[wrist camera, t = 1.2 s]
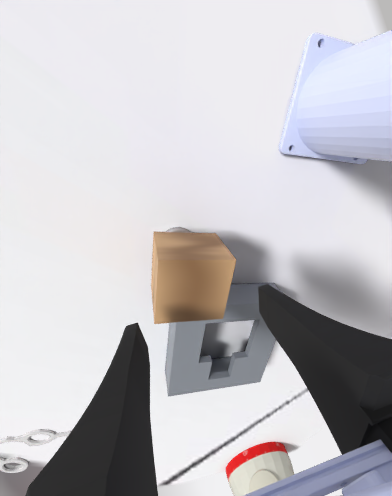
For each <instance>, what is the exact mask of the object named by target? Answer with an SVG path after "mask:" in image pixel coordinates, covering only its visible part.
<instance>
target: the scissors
mask: <svg viewBox="0 0 392 496" xmlns="http://www.w3.org/2000/svg"><path fill="white" fill-rule="evenodd" d="M70 433H71V431H67V432H61V433H54V432H53V431H50V430H45V429H38V430H34V431H30V432H28V433H26V434H24V435H22V436H18V437H8V436H7V437H5V438H2V439H0V443H5V442H24V443H26V444H28V445H29V446H37V445H42V444H46V443H49V442H51V441H52V440H53V439H54V438H57V437H62V436H69V434H70ZM36 434H46V435H49V436H50V437H49V438H48V439H46V440H41V441H36V440H30V439H29V437H30V436H32V435H36ZM12 462H14V463H20V464H21V465H17V466H13V465H7V464H6V463H12ZM28 464H29V461H26V460H24V459H21V458H18V457H17V458H15V457H12V456H8V455H7V456H6V455H3V454H0V470H1V471H3V472H7V473H16V472H21V471H24V470H25V469H26V468H27V467H28Z"/></svg>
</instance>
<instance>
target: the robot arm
mask: <svg viewBox="0 0 392 496" xmlns="http://www.w3.org/2000/svg"><path fill="white" fill-rule="evenodd" d="M318 41H320V43H321V44H320V48H319V47H318ZM290 146H292V149H291V150H290V151H289V147H290ZM279 151H280V152H281V153H283V154H290V155H297V156H305V157H312V158H319V159H327V160H334V161H342V162H349V163H357V164H364V163H366V162H367V160H368V159H372V160H381V161H390V162H392V30H390V31H387V32H385V33H382V34H380V35H377V36H375V37H373V38H370V39H368V40H365V41H363V42H360V43H358V44H352V43H349V42H346V41H343V40H339V39H336V38H333V37H330V36H326V35H323V34H320V33H314V34H312V35H310V36H309V37H308V39H307V41H306V45H305V48H304V52H303V56H302V60H301V64H300V68H299V72H298V76H297V80H296V83H295V87H294V91H293V95H292V99H291V103H290V107H289V111H288V115H287V118H286V122H285V126H284V130H283V134H282V138H281V142H280V146H279ZM354 157H355V158H354ZM353 158H354V159H353ZM258 295H259V312H260V314H261V316H262V318H263V320H264V322H265V324H266V325H267V327H268V329H269V330H270V331H271V333H272V334H273V336H274V337H275V339H276V340H277V341H278V343H279V344H280V346H281V347H282V348H283V350H284V351H285V353H286V354H287V355H288V357H289V358H290V360H291V361H292V363H293V364H294V366H295V367H296V369H297V371H298V372H299V374H300V376H301V378H302V379H303V381H304V383H305V385H306V386H307V388H308V390H309V392H310V394H311V395H312V397H313V399H314V401H315V403H316V404H317V406H318V408H319V410H320V412H321V414H322V416H323V418H324V420H325V421H326V423H327V425H328V427H329V429H330V431H331V433H332V435H333V437H334V439H335V441H336V443H337V445H338V447H339V449H340V451H341V453H342V455H341V456H338V457H336V458H333V459H331V460H329V461H326V462H324V463H321V464H319V465H316V466H314V467H312V468H309V469H307V470H304V471H302V472H299V473H297V474H294V475H292V476H290V477H287V478H285V479H282V480H280V481H277V482H275V483H273V484H270V485H268V486H265V487H263V488H260V489H258V490H256V491H253V492H251V493H248V494H246V495H243V496H325V495H327V494H329V493H332V492H334V491H336V490H339V489H341V488H343V487H344V488H343V489H342V494H343V496H392V339H388V338H384V337H381V336H378V335H374V334H371V333H368V332H365V331H362V330H359V329H356V328H353V327H350V326H348V325H345V324H342V323H340V322H337V321H335V320H333V319H330V318H328V317H326V316H324V315H321V314H319V313H317V312H315V311H313V310H311V309H309V308H307V307H306V306H304V305H302V304H300V303H298V302H297V301H295V300H293V299H291V298H290V297H288V296H286V295H285V294H283V293H282V292H280V291H278V290H277V289H275V288H273V287H272V286H270V285H269V284H266V285H262V286H259V287H258ZM26 496H158V491H157V483H156V474H155V465H154V455H153V445H152V434H151V423H150V362H149V353H148V346H147V344H146V342H145V339H144V337H143V334H142V332H141V330H140V327H139V325H138V323H135V324H131V325H128V326H126V328H125V330H124V333H123V336H122V338H121V341H120V344H119V346H118V349H117V351H116V353H115V356H114V358H113V360H112V362H111V365H110V367H109V369H108V371H107V373H106V375H105V377H104V379H103V381H102V383H101V385H100V387H99V388H98V390H97V392H96V394H95V396H94V397H93V399H92V401H91V402H90V404H89V406H88V407H87V409H86V410H85V412H84V414H83V415H82V417H81V418H80V420H79V421H78V423H77V424H76V426H75V427H74V429H73V430H72V431H71V433H70V434H69V436H68V437H67V438H66V440H65V441H64V443H63V444H62V445H61V447H60V448H59V449H58V451H57V452H56V453H55V455H54V456H53V457H52V459H51V460H50V461H49V462H48V463H47V465H46V466H45V467H44V468H43V470H42V471H41V472H40V474H39V475H38V476H37V477H36V478H35V480H34V481H33V482H32V483H31V484H30V485H29V487H28V490H27V493H26Z"/></svg>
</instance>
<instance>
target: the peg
mask: <svg viewBox="0 0 392 496" xmlns="http://www.w3.org/2000/svg"><path fill="white" fill-rule="evenodd" d="M235 264H236V259H235V257H234V256H233V255H232V254H231V252H230V251H229V250H228V248H227V247H226V246H225V245H224V243H223V242H222V241H221V239H220V238H219V237H218V235H217V234H216V233H191V232H189V231H188V230H187V229H184V228H181V227H175V228H171V229H169V230H167V231H166V232H154V236H153V258H152V280H151V289H152V301H153V312H154V324H161V323H174V322H187V321H201V320H214V319H223V317H224V312H225V308H226V303H227V299H228V295H229V290H230V286H231V281H232V277H233V273H234V268H235Z"/></svg>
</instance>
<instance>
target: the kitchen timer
mask: <svg viewBox="0 0 392 496" xmlns="http://www.w3.org/2000/svg"><path fill="white" fill-rule="evenodd" d="M226 474H227V478H228V482H229V485H230V488H231V490H232V492H233V494H234V496H243V495H246V494H248V493H251V492H253V491H256V490H258V489H260V488H263V487H265V486H268V485H270V484H273V483H275V482H277V481H280V480H282V479H285V478H287V477H290V476H292V475H294V472H293V467H292V464H291V461H290V459H289V456H288V453H287V451H286V449H285V447H284V445H283V444H281V443H279V442H267V443H263V444H259V445H256V446H254V447H251V448H249V449H247V450H245V451H243V452H241V453H240V454H238V455H237V456H236V457H234V458H233V459H232V460H231V461H230V462H229V463H228V465H227V467H226Z"/></svg>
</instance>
